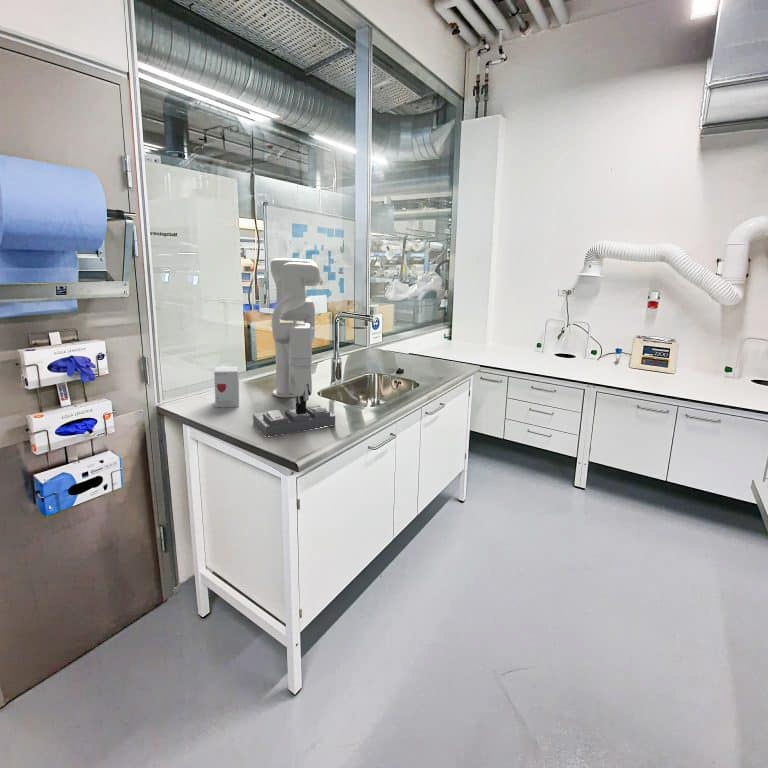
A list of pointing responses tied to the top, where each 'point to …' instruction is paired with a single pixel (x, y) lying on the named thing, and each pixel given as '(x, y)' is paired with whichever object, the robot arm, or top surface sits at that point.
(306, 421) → the rocker switch panel
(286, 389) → the robot arm
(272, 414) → the rocker
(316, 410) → the rocker
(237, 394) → the supplement box
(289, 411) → the middle rocker
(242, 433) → the top surface
